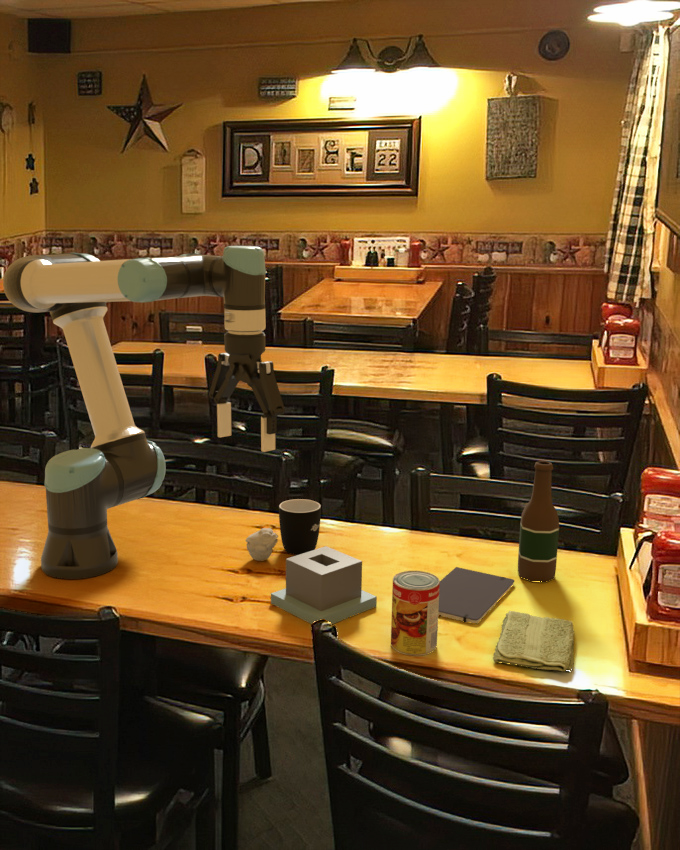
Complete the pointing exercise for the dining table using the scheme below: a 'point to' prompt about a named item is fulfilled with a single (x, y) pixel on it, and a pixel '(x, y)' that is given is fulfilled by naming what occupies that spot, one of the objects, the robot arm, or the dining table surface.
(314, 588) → the slotted gray box
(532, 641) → the washcloth
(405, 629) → the canned food
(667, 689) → the dining table surface
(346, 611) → the base
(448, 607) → the notebook
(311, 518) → the mug
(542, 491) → the beer bottle
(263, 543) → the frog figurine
